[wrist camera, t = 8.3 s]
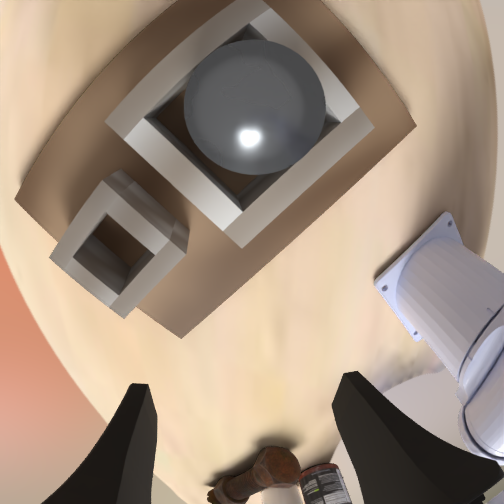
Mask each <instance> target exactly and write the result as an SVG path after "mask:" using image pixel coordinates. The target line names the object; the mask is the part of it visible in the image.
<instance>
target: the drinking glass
mask: <svg viewBox="0 0 504 504" xmlns="http://www.w3.org/2000/svg"><path fill="white" fill-rule="evenodd" d="M261 498H262V504H303V502H302V499H301V496H300V493H299V490H298V487H297V485H294V486H292V487H290V488H267V489H265V490H263V491H262V492H261Z"/></svg>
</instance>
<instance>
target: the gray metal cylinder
mask: <svg viewBox="0 0 504 504" xmlns="http://www.w3.org/2000/svg"><path fill="white" fill-rule="evenodd" d="M325 115H326V101H325V95H324V90H323V87H322V84H321V82H320V80H319V78H318V76H317V74H316V72H315V71H314V69H313V68H312V67H311V66H310V64H309V63H308V62H307V61H306V60H305V59H304V58H303V57H301V56H300V55H299V54H298V53H296V52H295V51H293V50H292V49H290V48H288V47H286V46H284V45H281V44H278V43H275V42H272V41H267V40H257V39H252V40H242V41H237V42H233V43H230V44H227V45H225V46H223V47H221V48H219V49H217V50H215V51H214V52H212V53H211V54H210V55H208V56H207V57H206V58H205V59H204V60H203V61H202V62H201V63H200V64H199V65H198V67H197V68H196V69H195V71H194V72H193V74H192V76H191V78H190V80H189V82H188V85H187V88H186V91H185V97H184V116H185V121H186V125H187V128H188V131H189V133H190V136H191V137H192V139H193V141H194V142H195V144H196V145H197V147H198V148H199V149H200V150H201V151H202V152H203V153H204V154H205V155H206V156H207V157H208V158H209V159H210V160H212V161H213V162H214V163H216V164H218V165H220V166H221V167H223V168H225V169H228V170H230V171H233V172H237V173H241V174H248V175H262V174H270V173H274V172H278V171H280V170H283V169H286V168H288V167H290V166H291V165H293V164H295V163H296V162H298V161H299V160H301V159H302V158H303V157H304V156H305V155H306V154H307V153H308V152H309V151H310V150H311V149H312V147H313V146H314V144H315V143H316V141H317V140H318V138H319V136H320V134H321V131H322V128H323V125H324V121H325Z"/></svg>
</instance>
